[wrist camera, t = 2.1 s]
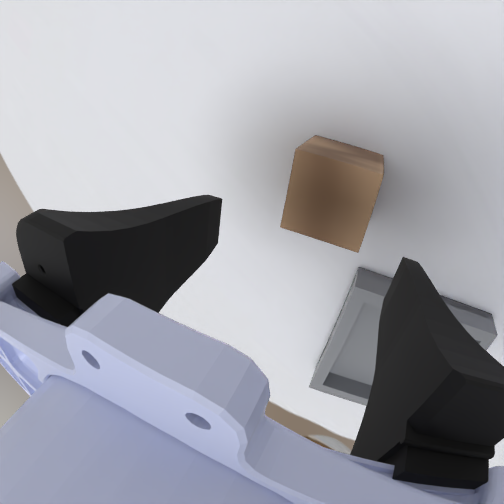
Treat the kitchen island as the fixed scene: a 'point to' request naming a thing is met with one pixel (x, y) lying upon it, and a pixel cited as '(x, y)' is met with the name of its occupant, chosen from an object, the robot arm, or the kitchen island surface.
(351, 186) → the walnut block
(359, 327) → the tray
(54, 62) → the kitchen island surface
